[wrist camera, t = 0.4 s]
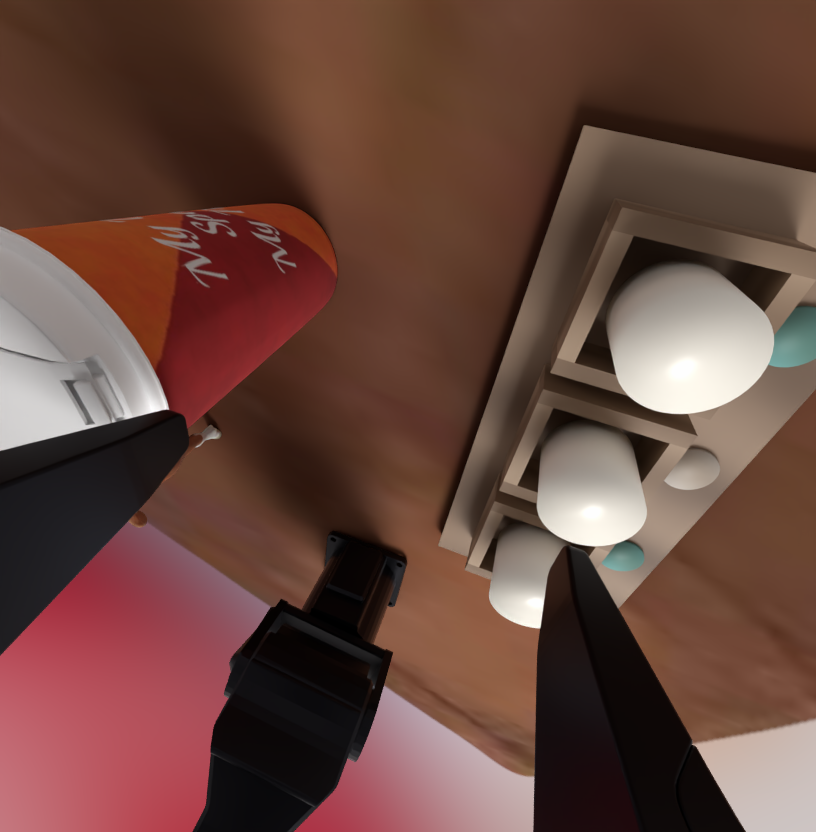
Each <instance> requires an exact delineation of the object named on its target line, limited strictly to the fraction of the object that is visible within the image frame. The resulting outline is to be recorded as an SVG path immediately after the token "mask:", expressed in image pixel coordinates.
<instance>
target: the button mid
mask: <svg viewBox="0 0 816 832" xmlns="http://www.w3.org/2000/svg"><path fill="white" fill-rule="evenodd" d="M537 511H538V515H539V517H540V519H541V521H542V523H543V524H544V525H545V526H546V527H547V528H548V529H549V530H550V531H551V532H552V533H554V534H555V535H557V536H558V537H560V538H562V539H564V540H567V541H569V542H572V543H575V544H580V545H586V546H606V545H612V544H616V543H619V542H622V541H624V540H627V539H628V538H630V537H632V536H633V535H635V534H636V533H637V532H638V531H639V530H640V529H641V527H642V526H643V524H644V522H645V520H646V516H647V508H646V503H645V498H644V494H643V489H642V485H641V480H640V476H639V471H638V467H637V462H636V458H635V453H634V449H633V446H632V443H631V441H630V440H629V438H628V437H627V436H626V435H625V434H624V433H623V432H622V431H621V430H619V429H618V428H616V427H614V426H611V425H608V424H605V423H601V422H598V421H595V420H577V421H572V422H569V423H566V424H563V425H561V426H559V427H557V428H556V429H554V430H553V431H552V432H551V433H550V434H549V435H548V436H547V437H546V439H545V440H544V442H543V444H542V448H541V456H540V469H539V483H538V496H537Z"/></svg>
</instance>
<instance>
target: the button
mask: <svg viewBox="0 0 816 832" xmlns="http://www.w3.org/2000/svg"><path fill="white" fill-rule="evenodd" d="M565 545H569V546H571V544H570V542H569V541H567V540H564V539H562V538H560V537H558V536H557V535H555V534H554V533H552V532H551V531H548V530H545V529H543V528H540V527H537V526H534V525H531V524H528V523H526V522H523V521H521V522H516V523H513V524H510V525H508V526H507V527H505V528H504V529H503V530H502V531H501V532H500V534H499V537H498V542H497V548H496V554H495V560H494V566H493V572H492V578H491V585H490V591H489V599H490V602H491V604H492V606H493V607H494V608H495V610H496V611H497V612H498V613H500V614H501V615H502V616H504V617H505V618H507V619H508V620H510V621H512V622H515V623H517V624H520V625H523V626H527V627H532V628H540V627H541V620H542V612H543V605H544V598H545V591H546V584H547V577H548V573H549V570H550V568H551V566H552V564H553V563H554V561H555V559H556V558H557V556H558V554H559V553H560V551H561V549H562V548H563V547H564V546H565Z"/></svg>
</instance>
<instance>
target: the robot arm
mask: <svg viewBox="0 0 816 832" xmlns="http://www.w3.org/2000/svg"><path fill="white" fill-rule="evenodd" d="M189 442H190V441H189V435H188V429H187V423H186V419H185V417H184V415H182V414H181V413H178V412H175V411H172V410H167V409H166V410H161V411H157V412H153V413H149V414H145V415H141V416H137V417H133V418H129V419H125V420H121V421H117V422H113V423H109V424H105V425H101V426H97V427H93V428H89V429H85V430H81V431H77V432H73V433H69V434H65V435H61V436H57V437H53V438H49V439H45V440H41V441H37V442H33V443H29V444H25V445H21V446H17V447H13V448H9V449H5V450H1V451H0V655H1V654H2V653H3V652H4V651H5V650H6V649H7V648H8V647H9V646H10V645H11V644H12V643H13V642H14V641H15V640H16V639H17V638H18V636H19V635H20V634H21V633H22V632H23V631H24V630H25V629H26V628H27V627H28V626H29V625H30V624H31V623H32V622H33V621H34V620H35V619H36V618H37V616H38V615H39V614H40V613H41V612H42V611H43V610H44V609H45V608H46V607H47V606H48V605H49V604H50V603H51V602H52V600H53V599H55V597H56V596H57V595H58V594H59V593H60V592H61V591H62V590H63V589H64V588H65V587H66V586H67V585H68V584H69V583H70V582H71V581H72V580H73V579H74V578H75V576H76V575H77V574H78V573H79V572H80V571H81V570H82V569H83V568H84V567H85V566H86V565H87V564H88V563H89V562H90V560H92V559H93V557H94V556H95V555H96V554H97V553H98V552H99V551H100V550H101V549H102V548H103V547H104V546H105V545H106V544H107V543H108V542H109V541H110V539H112V537H113V536H114V535H115V534H116V533H117V532H118V531H119V530H120V529H121V528H122V527H123V526H124V525H125V524H126V523H127V522H128V521H129V520H130V519H131V518H132V516H133V515H134V514H135V513H136V512H137V511H138V510H139V509H140V508H141V507H142V506H143V505H144V504H145V503H146V501H147V500H148V499H149V498H150V497H151V495H152V494H153V493H154V492H155V490H156V489H157V488H158V487H159V485H160V484H161V483H162V482H163V480H164V479H165V478H166V476H167V475H168V474H169V473H170V471H171V470H172V469H173V467H174V466H175V465H176V464H177V462H178V461H179V460H180V458H181V457H182V456H183V455H184V453H185V452H186V451H187V449H188V446H189ZM406 566H407V560H406V559H405V558H403V557H401V556H398V555H396V554H393V553H390V552H388V551H385V550H383V549H380V548H377V547H375V546H372V545H369V544H367V543H364V542H362V541H359V540H356V539H354V538H351V537H348V536H346V535H343V534H341V533H338V532H335V531H332V532H330V534H329V535H328V538H327V549H326V560H325V568H324V570H323V572H322V574H321V575H320V577H319V579H318V581H317V583H316V584H315V586H314V588H313V590H312V592H311V593H310V595H309V597H308V599H307V601H306V602H305V604H304V606H303V608H302V610H301V609H299V608H297V607H294V606H292V605H290V604H288V602H287V601H285V600H283V599H281V600H280V601H279V603H278V604H277V605H276V607H270V609H269V611H268V612H267V614H266V616H265V617H264V619H263V620H262V622H261V623H260V625H259V626H258V628H257V629H256V630H255V632H254V633H253V634H252V635H251V636H250V637H249V638H248V639H247V640H246V641H245V643H244V644H243V645H242V646H241V647H240V648H239V649H238V650H237V651H236V653H235V654H234V655H233V656H232V658H231V660H230V662H229V664H230V670H231V673H230V676H229V679H228V683H227V685H226V688H225V692H224V695H225V696H226V697H227V698H229V699H228V700H227V702H226V704H225V706H224V708H223V709H222V711H221V713H220V715H219V717H218V719H217V720H216V723H215V725H214V729H213V735H212V742H211V758H210V769H209V779H208V789H207V799H206V806H205V809H204V811H203V813H202V814H201V816H200V818H199V820H198V822H197V824H196V826H195V828H194V830H193V832H294V831H295V830H296V829H297V828H298V827H299V826H300V825H301V824H302V822H303V821H305V819H307V818H308V816H309V815H310V814H312V812H313V811H314V810H315V809H316V808H317V807H318V806H319V805H320V804H321V803H322V802H323V801H324V800H325V799H326V798H327V797H328V796H329V795H330V794H331V793H332V792H333V791H334V789H335V788H336V787H337V785H338V782H339V779H340V777H341V774H342V772H343V769H344V766H345V763H346V761H347V758H348V759H350V760H352V761H354V762H356V761H357V760H358V757H359V756H360V754H361V751H362V749H363V747H364V744H365V742H366V740H367V737H368V734H369V731H370V729H371V726H372V723H373V720H374V717H375V714H376V711H377V708H378V704H379V701H380V697H381V693H382V690H383V687H384V683H385V679H386V676H387V672H388V669H389V665H390V662H391V658H392V655H393V652H392V651H389V650H387V649H386V650H384V649H382V648H380V647H378V646H376V645H374V644H373V643H374V641H375V638H376V635H377V633H378V630H379V627H380V625H381V622H382V619H383V617H384V614H385V611H386V609H387V606H390V607H393V606H395V603H396V601H397V597H398V594H399V590H400V587H401V583H402V580H403V576H404V573H405V569H406ZM534 781H535V783H534V830H533V832H746V831H745V830H744V828H743V826H742V825H741V823H740V822H739V820H738V818H737V817H736V815H735V813H734V812H733V810H732V808H731V806H730V805H729V803H728V801H727V800H726V798H725V796H724V794H723V793H722V791H721V789H720V788H719V786H718V784H717V783H716V781H715V780H714V777H713V776H712V774H711V772H710V770H709V769H708V767H707V765H706V763H705V761H704V760H703V758H702V756H701V754H700V753H699V751H698V749H697V747H696V746H694V745H692V739H691V737H690V735H689V733H688V732H687V730H686V728H685V726H684V725H683V723H682V721H681V719H680V717H679V716H678V714H677V712H676V710H675V709H674V707H673V705H672V703H671V701H670V700H669V698H668V696H667V694H666V693H665V691H664V689H663V687H662V685H661V684H660V682H659V680H658V678H657V677H656V675H655V673H654V671H653V669H652V668H651V666H650V664H649V662H648V661H647V659H646V657H645V655H644V653H643V652H642V650H641V648H640V646H639V645H638V643H637V641H636V639H635V637H634V636H633V634H632V632H631V630H630V629H629V627H628V625H627V623H626V622H625V620H624V618H623V616H622V614H621V613H620V611H619V609H618V607H617V606H616V604H615V602H614V600H613V598H612V597H611V595H610V593H609V591H608V590H607V588H606V586H605V584H604V582H603V581H602V579H601V577H600V575H599V574H598V572H597V570H596V568H595V566H594V565H593V563H592V561H591V559H590V558H589V556H588V554H587V553H586V552H585V551H583V550H581V549H578V548H575V547H572V546H569V545H565V546H564V547H563V548H562V549H561V551H560V553H559V554H558V556H557V558H556V559H555V561H554V563H553V564H552V566H551V568H550V570H549V573H548V577H547V584H546V591H545V598H544V605H543V612H542V620H541V627H540V634H539V642H538V651H537V684H536V732H535V779H534Z"/></svg>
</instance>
